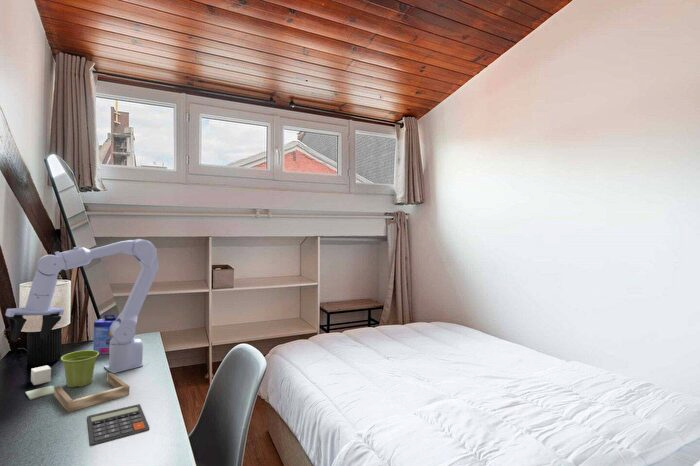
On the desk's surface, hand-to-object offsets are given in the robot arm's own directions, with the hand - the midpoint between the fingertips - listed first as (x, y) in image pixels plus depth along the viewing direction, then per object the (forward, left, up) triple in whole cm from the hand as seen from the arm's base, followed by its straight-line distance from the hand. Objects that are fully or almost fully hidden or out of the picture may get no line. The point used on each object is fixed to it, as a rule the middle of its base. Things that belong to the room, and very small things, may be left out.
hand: (28, 339), depth 111 cm
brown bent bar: (-8, +17, -14) cm, 23 cm away
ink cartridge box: (-27, -16, -14) cm, 34 cm away
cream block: (-3, -1, -14) cm, 14 cm away
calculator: (-10, +42, -14) cm, 46 cm away
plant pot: (-11, +9, -14) cm, 20 cm away
